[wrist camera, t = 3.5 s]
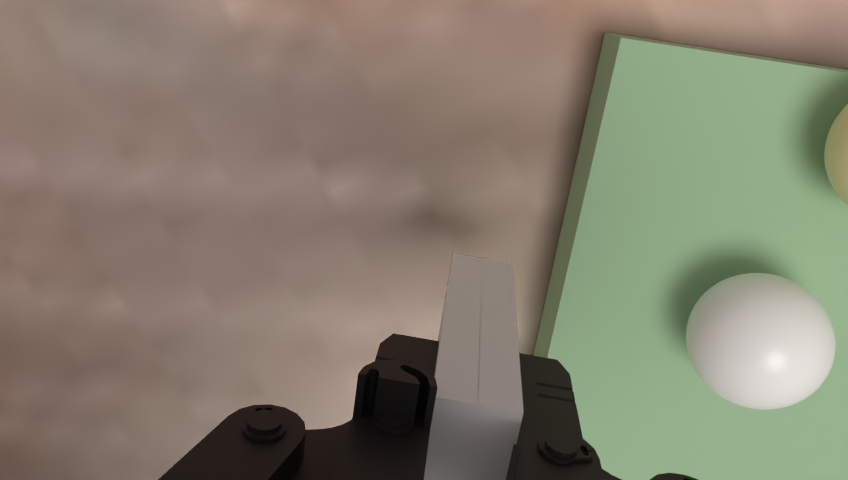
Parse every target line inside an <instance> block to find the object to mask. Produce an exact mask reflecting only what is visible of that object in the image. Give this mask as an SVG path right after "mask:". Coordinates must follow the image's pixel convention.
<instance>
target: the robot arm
mask: <svg viewBox="0 0 848 480" xmlns="http://www.w3.org/2000/svg"><path fill="white" fill-rule="evenodd" d="M572 390H573V387H572V382H571V377H570V374H569V372H568V371H567V370H566V369H565V368H564V367H563V366H562V364H561V363H560V362H559V361H558V360H556V359H550V358H544V357H538V356H532V355H527V354H521V353H519V346H518V333H517V320H516V307H515V294H514V281H513V269H512V263H509V262H503V261H497V260H491V259H485V258H479V257H473V256H467V255H461V254H455V253H453V254H452V260H451V265H450V271H449V277H448V283H447V289H446V295H445V301H444V307H443V313H442V319H441V325H440V331H439V337H438V341H434V340H428V339H422V338H416V337H410V336H405V335H399V334H392V335H391V336H390V337H388V338H387V339H386V340H384V341H383V342H382V343H380V346H379V349H378V353H377V356H376V359H375V362H373V363H371V364H368V365H366V366H364V367H363V369H362V370H361V371H360V372H359V374H358V381H357V389H356V397H355V405H354V412H353V418H352V420H351V421H349V422H347V423H345V424H343V425H340V426H337V427H333V428H327V429H317V430H306V429H305V424H304V421H303V420H302V419H301V418H300V417H299V416H298V415H297V414H296V413H294V412H292V411H290V410H288V409H286V408H284V407H279V406H274V405H253V406H249V407H245V408H242V409H239V410H237V411H236V412H234V413H232V414H231V415H229V416H228V417H227V418H226V419H225V420H223V421H222V422H221V423H220V424H219V425H218V426H217V427H216V428H215V429H214V430H212V431H211V432H210V433H209V434H208V435H207V436H206V437H205V438H204V439H203V440H201V441H200V442H199V443H198V444H197V445H196V446H195V447H194V448H193V449H191V450H190V451H189V452H188V453H187V454H186V455H185V456H184V457H183V458H182V459H180V460H179V461H178V462H177V463H176V464H175V465H174V466H173V467H172V468H171V469H169V470H168V471H167V472H166V473H165V474H164V475H163V476H162V477H161V478H160V479H158V480H622V479H619V478H617V477H615V476H613V475H611V474H610V473H608V472H607V471H605V470H603V469H602V467H601V463H600V458H599V457H598V455H597V453H596V451H595V449H594V448H593V447H592V446H591V445H590V444H589V443H588V442H587V441H585V440H584V439H583V436H582V431H581V426H580V421H579V416H578V412H577V407H576V403H575V397H574V392H573V391H572ZM650 480H698V479H696V478H692V477H690V476H687V475H683V474H676V473H664V474H657V475H656V476H654V477H653V478H651V479H650Z"/></svg>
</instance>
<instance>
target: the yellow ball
mask: <svg viewBox="0 0 848 480" xmlns="http://www.w3.org/2000/svg"><path fill="white" fill-rule="evenodd" d="M824 162H825V169H826V172H827V175H828V179H829V181H830V183H831V185H832V187H833V189H834V190H835V191H836V193H837V194H838V196H839V197H840V198H841V199H842V200H843V201H844V202H845V203H846V204H847V205H848V104H847V105H846V106H845V107H844V108H843V110H842V111H841V112H840V113H839V115H838V116H837V117H836V119H835V120H834V122H833V124H832V126H831V128H830V130H829V133H828V136H827V140H826V143H825V150H824Z"/></svg>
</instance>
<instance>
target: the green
mask: <svg viewBox="0 0 848 480" xmlns="http://www.w3.org/2000/svg"><path fill="white" fill-rule="evenodd" d="M847 104H848V69H841V68H835V67H828V66H822V65H815V64H809V63H802V62H796V61H789V60H783V59H776V58H770V57H763V56H757V55H750V54H744V53H737V52H731V51H724V50H718V49H711V48H705V47H698V46H692V45H685V44H679V43H672V42H666V41H659V40H653V39H646V38H640V37H633V36H627V35H620V34H614V33H607V32H605V34H604V39H603V43H602V48H601V52H600V57H599V61H598V66H597V70H596V75H595V79H594V84H593V88H592V93H591V97H590V102H589V106H588V111H587V115H586V120H585V124H584V129H583V133H582V138H581V142H580V147H579V151H578V156H577V160H576V165H575V169H574V174H573V178H572V183H571V187H570V192H569V196H568V201H567V205H566V210H565V214H564V219H563V223H562V228H561V232H560V237H559V241H558V246H557V250H556V255H555V259H554V264H553V268H552V272H551V277H550V281H549V286H548V290H547V295H546V299H545V304H544V308H543V313H542V317H541V322H540V326H539V331H538V335H537V340H536V344H535V349H534V353H533V356H538V357H544V358H550V359H556V360H558V361H559V362H560V363H561V364H562V366H563V367H564V368H565V369H566V370H567V371H568V372H569V374H570V377H571V382H572V387H573V390H572V391H573V392H574V397H575V403H576V407H577V412H578V416H579V421H580V426H581V431H582V436H583V439H584V440H585V441H587V442H588V443H589V444H590V445H591V446H592V447H593V448H594V449H595V451H596V453H597V455H598V457H599V458H600V463H601V467H602V469H603V470H605V471H607V472H608V473H610V474H611V475H613V476H615V477H617V478H619V479H622V480H650V479H651V478H653V477H654V476H656V475H657V474H664V473H676V474H683V475H687V476H690V477H692V478H696V479H698V480H848V205H847V204H846V203H845V202H844V201H843V200H842V199H841V198H840V197H839V196H838V194H837V193H836V191H835V190H834V189H833V187H832V185H831V183H830V181H829V179H828V175H827V172H826V169H825V162H824V150H825V143H826V140H827V136H828V133H829V130H830V128H831V126H832V124H833V122H834V120H835V119H836V117H837V116H838V115H839V113H840V112H841V111H842V110H843V108H844V107H845V106H846V105H847ZM746 273H766V274H773V275H777V276H781V277H783V278H786V279H789V280H791V281H793V282H795V283H797V284H799V285H800V286H802V287H803V288H805V289H806V290H807V291H809V292H810V293H811V294H812V295H813V296H814V297H815V298H816V299H817V300H818V301H819V302H820V303H821V305H822V306H823V307H824V309H825V311H826V312H827V314H828V316H829V318H830V320H831V323H832V326H833V329H834V334H835V340H836V349H835V357H834V361H833V365H832V367H831V370H830V372H829V374H828V376H827V377H826V379H825V380H824V382H823V383H822V384H821V386H820V387H819V388H818V389H817V390H816V391H815V392H814V393H812V394H811V395H810V396H808V397H807V398H805V399H804V400H802V401H800V402H798V403H796V404H794V405H791V406H788V407H784V408H779V409H768V410H760V409H751V408H747V407H743V406H739V405H737V404H734V403H732V402H730V401H728V400H726V399H724V398H722V397H720V396H719V395H717V394H716V393H715V392H713V391H712V390H711V389H710V388H709V387H708V386H707V385H706V384H705V383H704V382H703V381H702V380H701V378H700V377H699V376H698V374H697V373H696V371H695V369H694V368H693V366H692V363H691V361H690V358H689V356H688V351H687V346H686V328H687V323H688V319H689V316H690V314H691V311H692V309H693V308H694V306H695V304H696V303H697V301H698V300H699V299H700V297H701V296H702V295H703V294H704V293H705V292H706V291H707V290H708V289H710V288H711V287H712V286H714V285H715V284H717V283H718V282H720V281H722V280H724V279H727V278H730V277H732V276H736V275H740V274H746Z"/></svg>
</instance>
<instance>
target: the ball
mask: <svg viewBox="0 0 848 480" xmlns="http://www.w3.org/2000/svg"><path fill="white" fill-rule="evenodd" d="M686 346H687V351H688V356H689V358H690V361H691V363H692V366H693V368H694V369H695V371H696V373H697V374H698V376H699V377H700V378H701V380H702V381H703V382H704V383H705V384H706V385H707V386H708V387H709V388H710V389H711V390H712V391H713V392H715V393H716V394H717V395H719V396H720V397H722V398H724V399H726V400H728V401H730V402H732V403H734V404H737V405H739V406H743V407H747V408H751V409H760V410H768V409H779V408H784V407H788V406H791V405H794V404H796V403H798V402H800V401H802V400H804V399H805V398H807V397H808V396H810V395H811V394H812V393H814V392H815V391H816V390H817V389H818V388H819V387H820V386H821V384H822V383H823V382H824V380H825V379H826V377H827V376H828V374H829V372H830V370H831V367H832V365H833V361H834V357H835V349H836V340H835V334H834V329H833V326H832V323H831V320H830V318H829V316H828V314H827V312H826V311H825V309H824V307H823V306H822V305H821V303H820V302H819V301H818V300H817V299H816V298H815V297H814V296H813V295H812V294H811V293H810V292H809V291H807V290H806V289H805V288H803V287H802V286H800V285H799V284H797V283H795V282H793V281H791V280H789V279H786V278H783V277H781V276H777V275H773V274H766V273H746V274H740V275H736V276H732V277H730V278H727V279H724V280H722V281H720V282H718V283H717V284H715V285H714V286H712V287H711V288H710V289H708V290H707V291H706V292H705V293H704V294H703V295H702V296H701V297H700V299H699V300H698V301H697V303H696V304H695V306H694V308H693V309H692V311H691V314H690V316H689V319H688V323H687V328H686Z"/></svg>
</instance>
